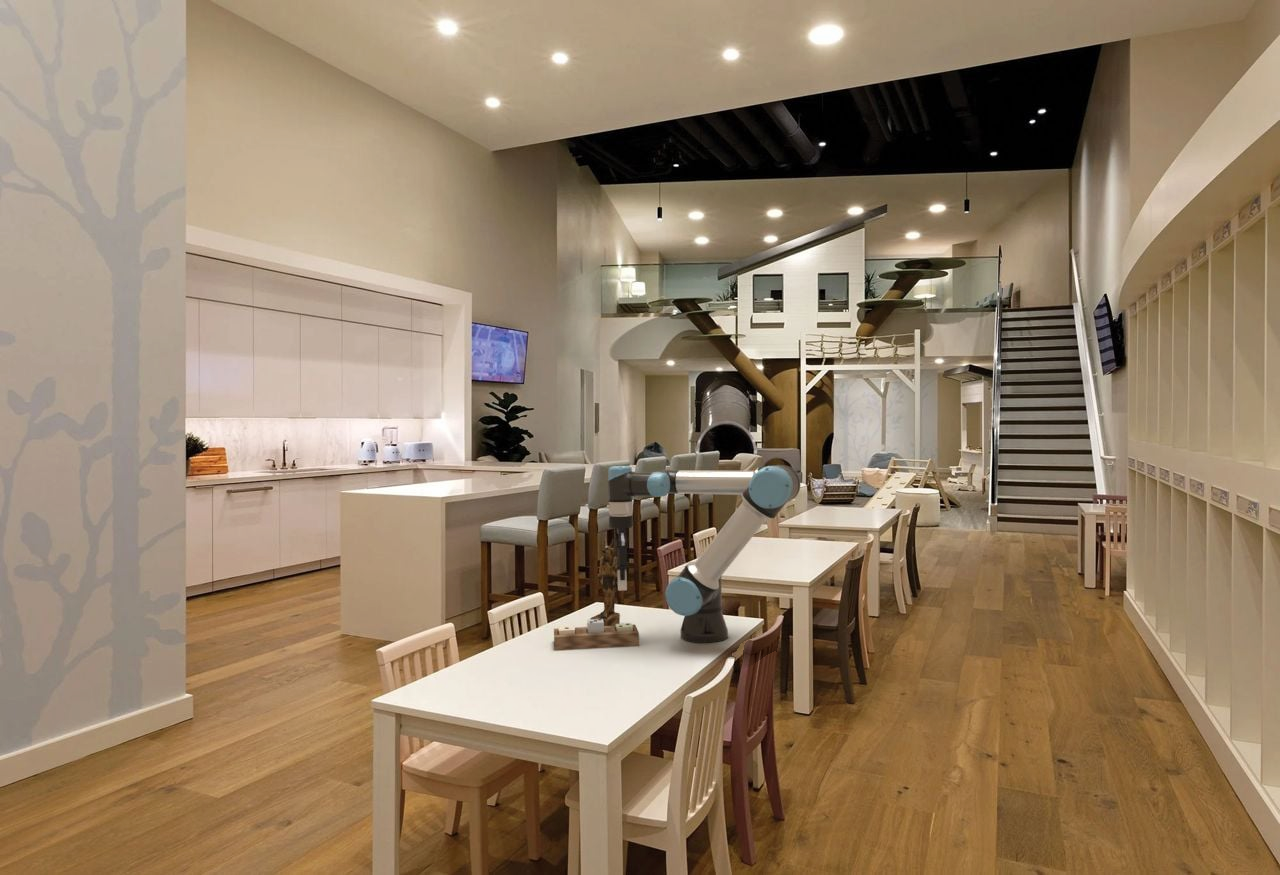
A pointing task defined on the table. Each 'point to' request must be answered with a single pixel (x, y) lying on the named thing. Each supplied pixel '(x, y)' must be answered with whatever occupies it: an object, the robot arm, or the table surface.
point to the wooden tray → (596, 638)
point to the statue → (608, 585)
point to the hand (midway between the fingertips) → (622, 589)
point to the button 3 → (595, 626)
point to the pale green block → (624, 627)
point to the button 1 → (567, 630)
